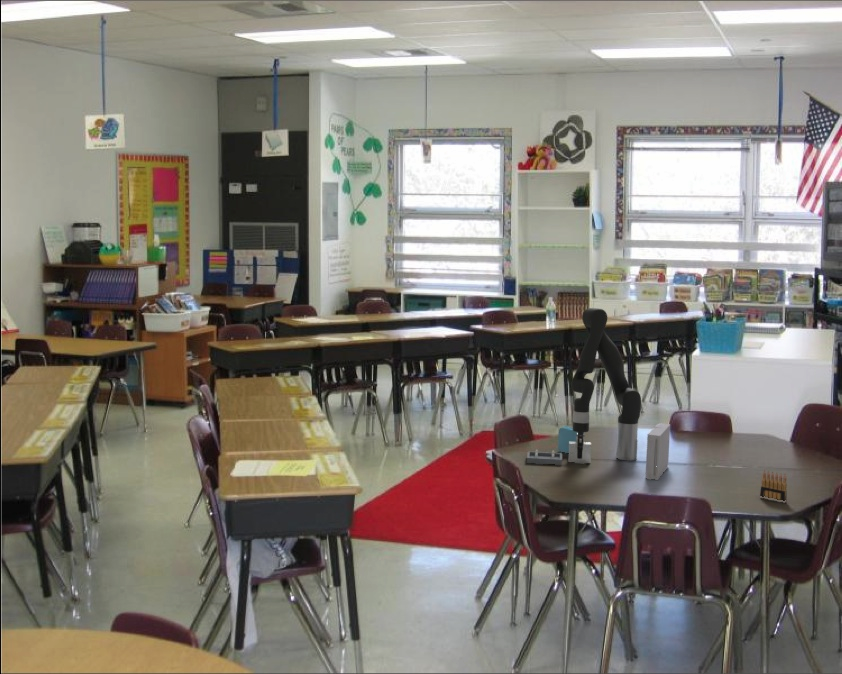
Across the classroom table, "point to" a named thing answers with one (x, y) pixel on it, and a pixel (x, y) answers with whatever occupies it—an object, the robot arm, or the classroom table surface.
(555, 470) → the classroom table surface
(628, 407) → the robot arm
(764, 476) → the ammunition clip
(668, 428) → the game console
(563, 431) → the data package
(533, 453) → the tray
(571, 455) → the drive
